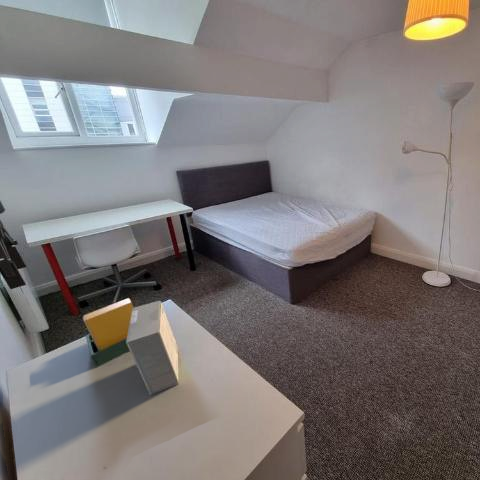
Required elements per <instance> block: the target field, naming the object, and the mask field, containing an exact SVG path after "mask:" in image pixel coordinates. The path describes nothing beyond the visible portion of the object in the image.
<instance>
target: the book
mask: <svg viewBox="0 0 480 480" xmlns="http://www.w3.org/2000/svg"><path fill="white" fill-rule="evenodd" d="M133 308H134V306H133V303H132V300H131V298H129V297H128V298H125V299H122V300H120V301H118V302H115V303H112V304H110V305H106V306H104V307H102V308H99V309H97V310H94V311H91V312H89V313H86V314H84V315H83V316H82V320H83V322H84V325H85V326H86V328H87V331H88V332H89V334H90V335H91V337H92V339H93V340H94V342H95V344H96V346H97V348H98V350H99V351H100V350H102V349H104V348H107V347H109V346H111V345H113V344H115V343H117V342H119V341H122V340H124V339H126V338H127V335H128V330H129V325H130V319H131V314H132V309H133Z"/></svg>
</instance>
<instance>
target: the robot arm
mask: <svg viewBox="0 0 480 480" xmlns="http://www.w3.org/2000/svg"><path fill="white" fill-rule="evenodd" d="M5 212H6V208H5V207H4V205H3V203H2V201H1V200H0V215H1V214H3V213H5ZM18 245H19V242H18V241H17V240H14V238H12V236H11V235H10V233H9V231H8V230H7V229H6V227H5V225H4V223H3V221H2V220H1V219H0V274H1V276H2V278H3V280H4V282H5V283H6V284H7V286H8V288H9V289H10V290H14V289H17V288H20V287H23V286H26V285H27V282H26V281H25V280H24V278H23V276H22V274H21V273H20V270H22V269H24V268H27V264H26V263H25V260H24V259H23V257H22V256H21V253H20V252H19V250H18V248H17V246H18Z"/></svg>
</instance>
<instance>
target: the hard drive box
mask: <svg viewBox="0 0 480 480" xmlns="http://www.w3.org/2000/svg"><path fill="white" fill-rule="evenodd" d="M126 344H127V346H128V348H129V350H130V351H129V353H130V354H131V356H132V359H133V360H134V363H135V366H136V367H137V369H138V372H139V374H140V376H141V378H142V380H143V383H144V385H145V386H146V389H147V391H148V394H149V395H150V396H151V395H154V394H157V393H159V392H162V391H164V390H167V389H169V388H171V387H175V386H177V385H179V382H180V380H179V347H178V344H177V342H176V339H175V336H174V332H173V331H172V328H171V325H170V323H169V319H168V317H167V314H166V311H165V309H164V306H163V303H162V301H161V300H156V301H153V302H150V303H146V304H141V305H139V306H135V307H133V309H132V314H131V319H130V325H129V330H128V335H127V341H126Z"/></svg>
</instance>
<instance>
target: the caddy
mask: <svg viewBox="0 0 480 480" xmlns="http://www.w3.org/2000/svg"><path fill="white" fill-rule="evenodd" d="M85 340H86V343H87V345H88V351H89V354H90V357H91V359H92V361H93V363H94V364H95V366H96V368H99V367H101V366H102V365H104V364H106V363H108V362H111V361H112V360H114V359H116V358H119V357H121V356H122V355H125V354H127V353H130V350H129V348H128V346H127V344H126V341H127V338H126V339H124V340H122V341H119V342H117V343H115V344H113V345H111V346H109V347H107V348H104V349H102V350H100V351H99V350H98V348H97V346H96V344H95V342H94V340H93V339H92V337H91V335H90V333H89V334H86V335H85Z"/></svg>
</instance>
